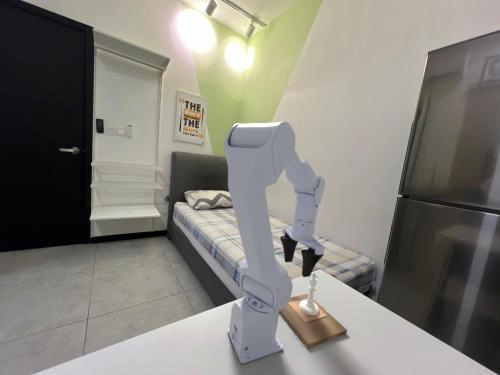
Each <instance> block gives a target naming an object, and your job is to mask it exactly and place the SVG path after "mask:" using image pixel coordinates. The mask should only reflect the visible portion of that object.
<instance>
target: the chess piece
mask: <svg viewBox="0 0 500 375" xmlns="http://www.w3.org/2000/svg"><path fill="white" fill-rule="evenodd" d="M310 276H312V277H310V278H309V284H310V285H308V286H307V289H308V290H309V292H308V298H307V300H302V301H301V302H300V304H299V307H300V309H301V310H302V311H303V312H304V313H306V314H309V315H317V314H318V313H319V308H318V306H317V305H316V304H315V303H314V302H313V299H314V293H315V292H316V291H317V288H316V285H317V284H318V278H319V275H317V272H316V271H313V272H312V273H311V275H310Z"/></svg>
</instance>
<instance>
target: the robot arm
mask: <svg viewBox="0 0 500 375" xmlns="http://www.w3.org/2000/svg"><path fill="white" fill-rule="evenodd" d="M222 146H223V151H224V156H225V159H226V163H227V169H228V170H227V186H228V187H227V188H228V192H229V196H230V200H231V203H232V208H233V209H232V210H233V213H234V217H235V220H236V224H237V228H238V232H239V235H240V241H241V244H242V249H243V252H244V255H245V256H244V257H245V259H244V260H243V261H242V263H241V265H240V266H239V268H238V270H239V282H238V283H239V287H240V289H241V290H242V291H243V293H242V296H243V298H242V299H240V300H239V301H237V302H234V303H233V304H232V307H231V311H230V312H231V314H230V319H229V320H230V321H229V328H227V333H228V336H229V338H230V340H231V342H232V346H233V347H234V351H235V353H236V354H237V357H238V359H239V360H238V361H239V362H240V363H241V364H246V363H249V362H252V361H254V360H257V359H260V358H263V357H266V356H268V355H271V354H274V353H278V352H280V351H282V350H284V345H283V344H282V342H281V341H280V340H279V338H278V336H277V328H278V322H279V316H280V314H279V311H280V310H282V309H284V308H285V307H286V305H287V304H288V302H289V299H290V298H291V296H292V293H293V285H294V284H293V282H292V279H291V278H290V277H289V272H288V270H287V269H286V268H285V267H284V266H283V265H282V264H281V263H280V262H279V261H278V260H277V259H276V258H277V257H276V254H275V246H274V240H273V235H272V234H273V233H272V227H271V221H270V215H269V207H268V201H267V196H266V187H269V186H272V185H274V184H277V182H278V180H279V178H280V176H281V175H282V173H283V172H284V170H285V177H286V179H287V180H288V182H290V183H291V184H292V186H293V191H294V194H296V199H295V205H294V211H293V217H292V223H291V224H292V225H291V227H290V226H283V227H282V235H280V237H279V239H280V242H281V244H282V248H283V249H282V250H283V256H284V258H283V259H284V262H285V263H292V262H293V260H294V256H295V251H296V248H297V245H298V243H299V244H301V245H303V246H305V247H306V249H301V250H300V253H301V257H302V268H301V276H302V278H307V277H308V278H309V277H310V276H312V275H311V273H313V272H314V268H315V267H316V265H317V264H318V263H319V261H320V260H321V259H322V257H323V256H324V255H325V249H326V246H325V245H323V244H321V243H320V242H319V241H318V240H317V239H316V236H315V235H314V232H315V228H316V221H317V215H318V209H319V206H320V205H321V201H322V197H323V195H324V192H325V186H326V181H325V178H323V177H322V175H318V174H316V172H315V171H314V170H313V167H312V166H311V165H310V163H309V161H308V160H307V159H301V158H300V157H299V155H298V153H297V151H296V149H295V148H296V133H295V131H294V129H293V127H292V125H291V124H290V122H287V121H286V120H285V121H279V122H265V123H264V122H263V123H262V122H261V123H241V122H238V123H235V124H234V125H232V126H231V127H230V129H228V133H227V135H226V137H225V139H224V140H223V143H222Z"/></svg>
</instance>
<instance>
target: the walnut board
mask: <svg viewBox="0 0 500 375" xmlns="http://www.w3.org/2000/svg"><path fill="white" fill-rule="evenodd" d="M308 295H309V293H306V294H305V293H304V294H301V295H296V296H292V297H290V299H289V302H288V304H287V305H286V307H285V308H284V309H282V310H280V311H279V316H280V317H282V319H283V321H285V323H286V324H287V325H288V326H289V328H290V329H291V330H292V331H293V333H295V335H296V336H297V337H298V340H300V341H301V342H302V344H303V345H304V347H305V348H306V349H311V348H313V347H315V346H318V345H321V344H324V343H325V342H329V341H331V340H333V339H336V338H339V337H341V336H345V335H346V334H348V333H347V332H348V329H347V328H346V327H345V326H344V325H342V323H340V322H339V321H338V320H337V319H335V318H334V316H333V315H332V314H330V313H329V312H328V311H327V310H326V309H325V308H323V306H322V305H320V304H319V303H318V302H317V301H316V300H315V299H314V298H313V302H314V303H315V304H316V305H317V306H318V308H319V313H318V314H317V315H309V314H306V313H304V312H303V311H302V310H301V309H300V307H299V304H300V302H301V301H302V300H307V298H308Z"/></svg>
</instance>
